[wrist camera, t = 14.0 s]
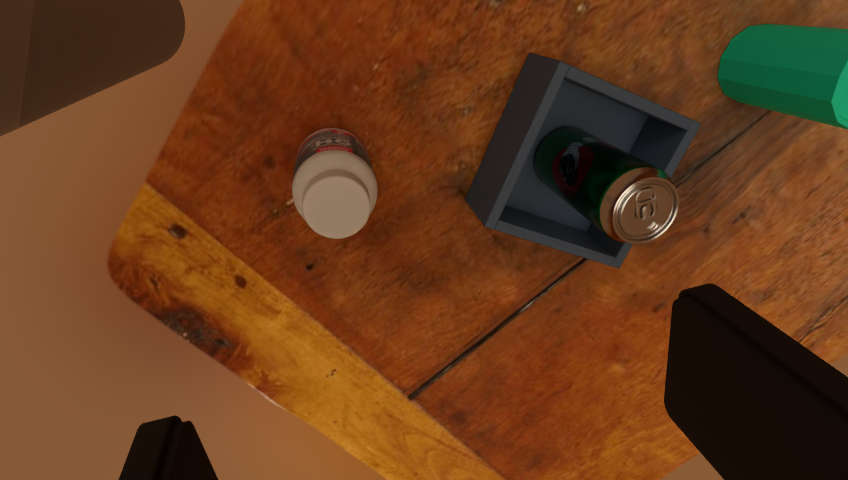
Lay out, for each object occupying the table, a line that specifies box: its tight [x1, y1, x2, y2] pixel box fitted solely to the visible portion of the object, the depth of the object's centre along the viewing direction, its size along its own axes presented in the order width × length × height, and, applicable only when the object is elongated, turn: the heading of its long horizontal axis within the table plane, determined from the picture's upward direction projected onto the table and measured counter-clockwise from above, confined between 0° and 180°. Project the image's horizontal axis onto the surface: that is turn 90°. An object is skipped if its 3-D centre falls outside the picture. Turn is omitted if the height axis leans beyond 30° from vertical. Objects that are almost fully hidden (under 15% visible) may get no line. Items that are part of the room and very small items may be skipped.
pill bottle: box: [292, 128, 378, 239], centre depth 35 cm, size 5×5×10 cm
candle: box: [718, 24, 848, 129], centre depth 37 cm, size 6×6×12 cm
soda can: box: [535, 127, 679, 244], centre depth 37 cm, size 5×5×12 cm
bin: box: [465, 53, 701, 268], centre depth 40 cm, size 12×12×6 cm
